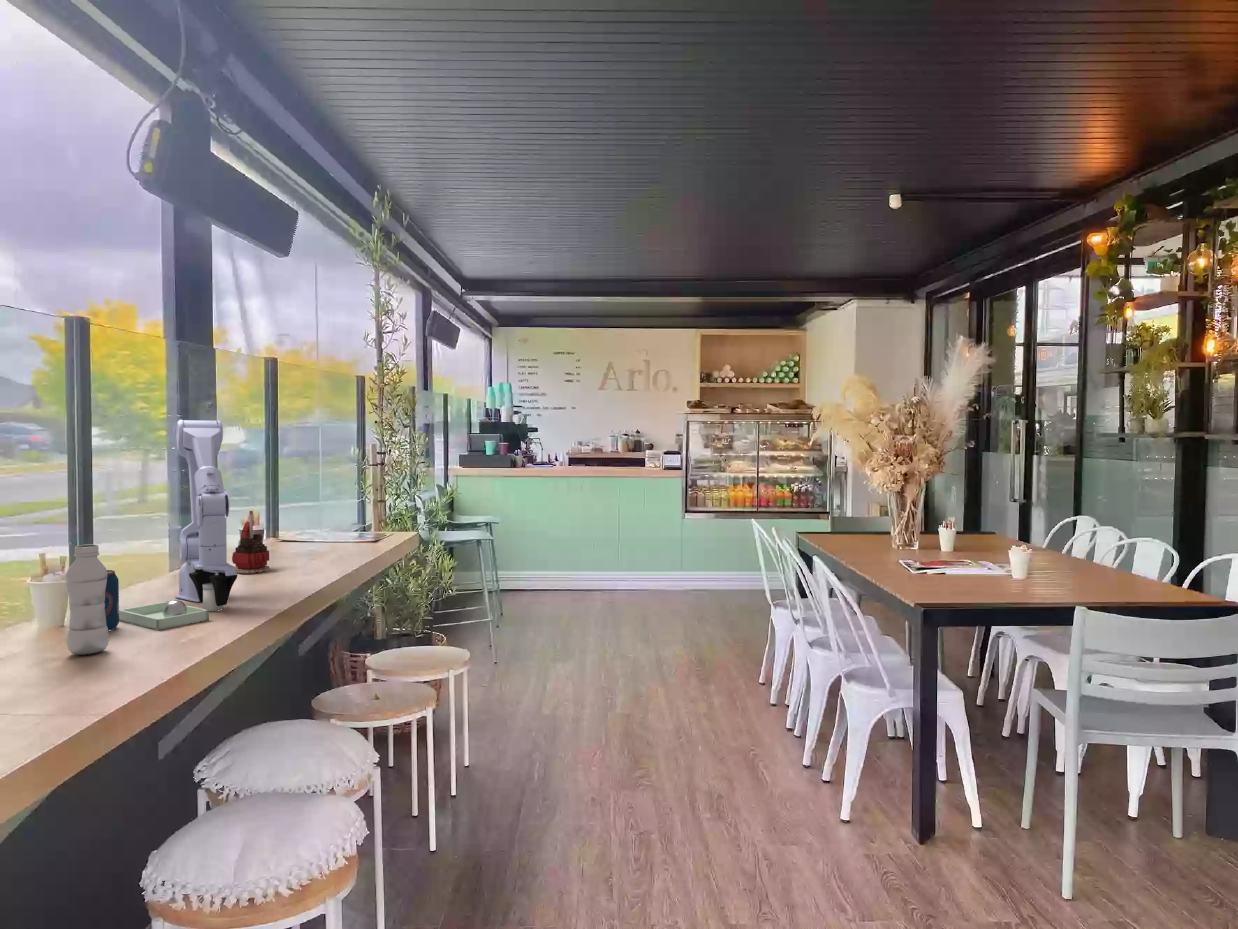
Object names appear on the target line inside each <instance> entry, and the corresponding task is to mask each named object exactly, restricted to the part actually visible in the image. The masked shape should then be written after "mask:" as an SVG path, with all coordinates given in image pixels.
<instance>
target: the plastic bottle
mask: <svg viewBox="0 0 1238 929" xmlns="http://www.w3.org/2000/svg"><path fill="white" fill-rule="evenodd" d="M99 549H100V548H99V544H81V545H80V544H79V545H75V546H74V553H73V557H74V558H75V560H74V561H73V562H72V563H71V564H70V566H69V568H68V569H67V571H66V574H65V577H64V578H65V583H66V588H67V593H68V598H69V599H68V603H69V604H68V605H70V606H69V623H68V624H69V625H68V632H67V636H66V646H67V650H68V652H70V653H71V654H73V655H82V656H83V655H85V656H87V655H86V654H88V655H93V654H96V653H100V652H102V651H105V650H106V649H107V648H108V646H109V641H110V631H109V632H108V628H107V626H106V616H105V603H104V601H105V590H106V583H107V574H108V573H107V570H108V569H107V567H106V566H105V564H103V562H101V561H100V559H99V557H98V556H100V552H99Z"/></svg>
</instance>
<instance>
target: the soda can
mask: <svg viewBox="0 0 1238 929" xmlns="http://www.w3.org/2000/svg"><path fill="white" fill-rule="evenodd" d="M106 570H107V573H108V574H107V583H106V590H105V601H104V603H105V616H106V626H107V628H108V631H109V630H112V631H114V630H115V629H116V628H117V627H118V625H119V623H120V621H119V610H120V596H119V594H120V593H119V592H120V590H119V589H120V587H119V584H120V583H119V577H118V576H117V574H116V571H115V570H114V569H113V570H112V569H106ZM109 632H110V631H109Z"/></svg>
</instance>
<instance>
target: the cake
mask: <svg viewBox="0 0 1238 929" xmlns="http://www.w3.org/2000/svg"><path fill="white" fill-rule="evenodd" d="M253 511H254V510H249V512H248V513H249V519H246V521H245V523H244V525H243V526H242V529H241V533H240V538H239V540H238V542H237V543H238V544H237V546H236V547H235V549H234V550H235V551H233V552H232V556H231V559H232V560H231V562H232V563H233V564H234V565H235V567H236V573H240V574H243V573H245V574H244V575H247V574H248V573H249V575H251V574H252V573H253V574H257V573H256V572H260V573H262V571H263V572H267V571H268V570H270V566H269V565H268V561H270V551H269V550H268V547H267V545H266V544H265V543H263V541H262V540H263V536H262V534H261V533H254V530H253V529H254V526H255V520H254V519H253V518H254V517H253V516H254V515H253V514H254V512H253ZM250 573H251V574H250Z"/></svg>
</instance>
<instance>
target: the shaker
mask: <svg viewBox="0 0 1238 929" xmlns="http://www.w3.org/2000/svg"><path fill="white" fill-rule="evenodd" d="M202 609H206V610H209V611H215V612H219V611H218V610H221V609H223V610H224V605H223V606H217V605H216V601H215V592H214V587H213V584H212V583H205V584H203V603H202ZM221 611H222V610H221Z"/></svg>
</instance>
